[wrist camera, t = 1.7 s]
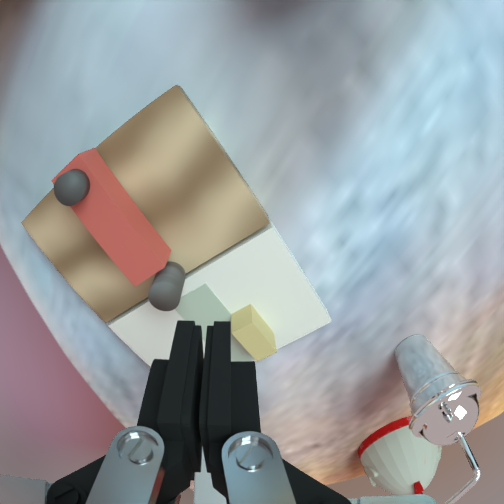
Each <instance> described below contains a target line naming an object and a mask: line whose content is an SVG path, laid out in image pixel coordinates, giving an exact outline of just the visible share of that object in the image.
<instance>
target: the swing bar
mask: <svg viewBox="0 0 504 504" xmlns="http://www.w3.org/2000/svg"><path fill="white" fill-rule="evenodd" d="M52 182H53V184H54V194H55V197H56V198H57V200H58V201H59V202H60V203H61V204H63V205H65V206H70V207H71V208H72V210H73V211H74V212H75V214H76V215H77V216H78V218H79V219H80V220H81V222H82V223H83V224H84V226H85V227H86V228H87V229H88V231H89V232H90V233H91V235H92V236H93V237H94V238H95V240H96V241H97V242H98V243H99V245H100V246H101V247H102V248H103V250H104V251H105V252H106V253H107V254H108V256H109V257H110V258H111V259H112V260H113V262H114V263H115V264H116V265H117V266H118V268H119V269H120V270H121V271H122V272H123V274H124V275H125V276H126V277H127V278H128V279H129V280H130V282H131V283H132V284H133V285H134V286H137V285H138V284H140V283H141V282H143V281H144V280H146V279H148V278H149V277H151V276H152V275H154V274H155V273H157V272H158V271H160V270H161V269H163V268H165V266H166V263H167V261H168V258H169V255H170V253H171V249H170V248H169V246H168V245H167V244H166V243H165V241H164V240H163V239H162V238H161V236H160V235H159V234H158V232H157V231H156V230H155V229H154V227H153V226H152V225H151V223H150V222H149V221H148V220H147V218H146V217H145V216H144V214H143V213H142V212H141V210H140V209H139V208H138V206H137V205H136V204H135V202H134V201H133V200H132V198H131V197H130V196H129V194H128V193H127V192H126V190H125V189H124V188H123V186H122V185H121V184H120V182H119V181H118V179H117V178H116V177H115V175H114V174H113V173H112V171H111V170H110V168H109V167H108V166H107V164H106V163H105V162H104V160H103V159H102V157H101V156H100V155H99V153H98V152H97V150H96V149H95V148H93V149H90V150H88V151H85V152H83V153H80V154H78V155H77V156H76V157H75V158H74V159H73V160H72V161H71V162H70V163H69V164H68V165H67V166H66V167H65V168H64V169H63V170H62V171H61V172H60V173H59V174H58V175H57V176H56V177H55V178H54V179H53V180H52Z"/></svg>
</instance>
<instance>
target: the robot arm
mask: <svg viewBox="0 0 504 504" xmlns="http://www.w3.org/2000/svg"><path fill="white" fill-rule="evenodd" d="M202 447H203V453H204V458H205V464H206V469H207V473H211V479H212V485H213V488H214V489H216V490H217V491H218V492H219V493H220V494H222V495H223V496H224V497H225V498H226V503H227V504H437V502H436V501H435V500H434V499H433V498H432V497H430V496H428V495H423V494H415V495H401V496H376V497H360V498H359V499H347V498H345V497H344V496H342V495H341V494H339V493H337V492H335V491H334V490H332V489H330V488H328V487H327V486H325V485H323V484H322V483H320V482H318V481H317V480H315V479H313V478H312V477H310V476H308V475H307V474H305V473H304V472H302V471H300V470H299V469H297V468H296V467H294V466H293V465H291V464H290V463H288V462H287V461H285V460H284V459H282V458H281V455H280V451H279V449H278V447H277V445H276V443H275V442H274V441H273V440H272V439H271V438H270V437H268V436H267V435H265V434H263V433H261V429H260V417H259V405H258V393H257V381H256V369H255V361H231V321H214V326H209V325H207V332H206V343H205V353H204V354H203V341H202V328H201V325H195V321H186V320H178V321H177V324H176V329H175V333H174V338H173V342H172V347H171V352H170V356H169V360H167V359H154V360H153V362H152V365H151V369H150V373H149V377H148V381H147V385H146V389H145V393H144V397H143V401H142V406H141V410H140V414H139V419H138V423H137V426H133V427H128V428H126V429H123V430H122V431H120V432H119V433H118V434H117V435H116V436H115V437H114V439H113V441H112V443H111V445H110V447H109V450H108V452H107V454H106V455H105V456H103V457H101V458H99V459H97V460H96V461H94V462H92V463H90V464H88V465H87V466H85V467H83V468H81V469H79V470H77V471H75V472H73V473H71V474H69V475H67V476H66V477H63V478H61V479H59V480H57V481H56V482H55V483H49V482H47V481H46V480H40V479H30V478H22V477H14V476H7V475H1V474H0V504H179V502H180V498H181V492H183V491H184V490H185V489H187V488H188V487H190V480H194V475H195V472H201V463H202Z"/></svg>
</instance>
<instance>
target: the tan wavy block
mask: <svg viewBox="0 0 504 504" xmlns="http://www.w3.org/2000/svg"><path fill="white" fill-rule="evenodd" d="M95 149H96V150H97V152H98V153H99V155H100V156H101V157H102V159H103V160H104V162H105V163H106V164H107V166H108V167H109V168H110V170H111V171H112V173H113V174H114V175H115V177H116V178H117V179H118V181H119V182H120V184H121V185H122V186H123V188H124V189H125V190H126V192H127V193H128V194H129V196H130V197H131V198H132V200H133V201H134V202H135V204H136V205H137V206H138V208H139V209H140V210H141V212H142V213H143V214H144V216H145V217H146V218H147V220H148V221H149V222H150V223H151V225H152V226H153V227H154V229H155V230H156V231H157V232H158V234H159V235H160V236H161V238H162V239H163V240H164V241H165V243H166V244H167V245H168V246H169V248H170V249H171V253H170V255H169V258H168V261H167V263H166V266H165V268H163V269H161V270H160V271H158V272H157V273H155V274H154V275H152V276H151V277H149V278H148V279H146V280H144V281H143V282H141V283H140V284H138V285H137V286H134V285H133V284H132V283H131V282H130V280H129V279H128V278H127V277H126V276H125V275H124V274H123V272H122V271H121V270H120V269H119V268H118V266H117V265H116V264H115V263H114V262H113V260H112V259H111V258H110V257H109V256H108V254H107V253H106V252H105V251H104V250H103V248H102V247H101V246H100V245H99V243H98V242H97V241H96V240H95V238H94V237H93V236H92V235H91V233H90V232H89V231H88V229H87V228H86V227H85V226H84V224H83V223H82V222H81V220H80V219H79V218H78V216H77V215H76V214H75V212H74V211H73V210H72V208H71V207H70V206H65V205H63V204H61V203H60V202H59V201H58V200H57V198H56V197H55V194H54V188H53V189H52V190H51V191H50V192H49V193H48V194H47V195H46V196H45V197H44V198H43V199H42V200H41V201H40V202H39V204H38V205H37V206H36V207H35V208H34V209H33V210H32V211H31V212H30V213H29V214H28V216H27V217H26V218H25V219H24V220H23V221H22V222H21V223H22V225H23V226H24V228H25V229H26V230H27V232H28V233H29V234H30V236H31V237H32V238H33V240H34V241H35V242H36V244H37V245H38V246H39V247H40V249H41V250H42V251H43V253H44V254H45V255H46V256H47V258H48V259H49V260H50V261H51V263H52V264H53V265H54V266H55V267H56V269H57V270H58V271H59V272H60V274H61V275H62V276H63V277H64V278H65V279H66V281H67V282H68V283H69V284H70V285H71V286H72V288H73V289H74V290H75V291H76V292H77V293H78V294H79V295H80V297H81V298H82V299H83V300H84V301H85V302H86V303H87V304H88V305H89V306H90V308H91V309H92V310H93V311H94V312H95V313H96V314H97V315H98V316H99V317H100V318H101V319H102V320H103V321H104V322H105V323H107V322H108V321H110V320H111V319H113V318H115V317H116V316H118V315H119V314H121V313H123V312H124V311H126V310H128V309H129V308H131V307H132V306H134V305H136V304H137V303H139V302H140V301H142V300H144V299H145V298H147V297H148V299H149V302H150V303H151V305H152V306H153V307H155V308H156V309H158V310H161V311H171V310H174V309H175V308H176V307H177V306H178V305H179V302H180V298H181V294H182V290H183V286H184V282H185V278H186V274H187V273H188V272H189V271H191V270H193V269H194V268H196V267H198V266H199V265H201V264H203V263H204V262H206V261H208V260H209V259H211V258H213V257H214V256H216V255H217V254H219V253H221V252H222V251H224V250H226V249H227V248H229V247H231V246H232V245H234V244H236V243H237V242H239V241H241V240H242V239H244V238H246V237H247V236H249V235H251V234H252V233H254V232H256V231H257V230H259V229H261V228H263V227H264V226H266V225H268V224H269V223H270V222H269V218H268V215H267V214H266V212H265V211H264V209H263V207H262V206H261V204H260V203H259V201H258V200H257V198H256V197H255V195H254V194H253V192H252V191H251V189H250V188H249V186H248V185H247V183H246V182H245V180H244V179H243V177H242V176H241V174H240V173H239V171H238V170H237V168H236V167H235V165H234V164H233V162H232V161H231V159H230V158H229V156H228V155H227V153H226V152H225V150H224V149H223V147H222V146H221V144H220V143H219V141H218V140H217V138H216V137H215V135H214V134H213V133H212V131H211V130H210V128H209V127H208V125H207V124H206V122H205V121H204V119H203V118H202V117H201V115H200V114H199V112H198V111H197V109H196V108H195V106H194V105H193V104H192V102H191V101H190V99H189V98H188V96H187V95H186V94H185V92H184V91H183V89H182V88H181V86H178V85H175V86H174V87H172V88H171V89H169V90H168V91H167V92H165V93H164V94H162V95H161V96H160V97H158V98H157V99H156V100H154V101H153V102H151V103H150V104H149V105H147V106H146V107H145V108H143V109H142V110H141V111H140V112H138V113H137V114H136V115H134V116H133V117H132V118H131V119H129V120H128V121H127V122H126V123H124V124H123V125H122V126H121V127H119V128H118V129H117V130H116V131H115V132H113V133H112V134H111V135H110V136H109V137H107V138H106V139H105V140H104V141H103V142H102V143H101V144H99V145H98V146H97V147H96V148H95Z"/></svg>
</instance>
